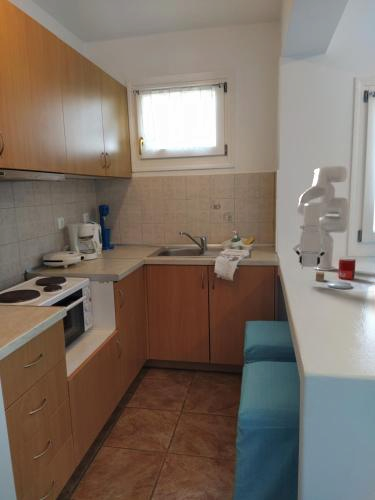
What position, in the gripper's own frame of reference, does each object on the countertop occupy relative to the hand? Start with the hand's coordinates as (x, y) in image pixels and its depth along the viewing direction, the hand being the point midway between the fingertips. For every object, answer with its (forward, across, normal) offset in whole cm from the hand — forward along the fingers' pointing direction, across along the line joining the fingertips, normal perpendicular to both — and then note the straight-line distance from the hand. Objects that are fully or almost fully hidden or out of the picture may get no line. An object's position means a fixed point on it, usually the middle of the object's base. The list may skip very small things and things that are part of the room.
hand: (309, 264), depth 180 cm
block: (+10, +5, +12) cm, 17 cm away
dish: (+10, +14, +2) cm, 18 cm away
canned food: (+10, +18, +21) cm, 30 cm away
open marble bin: (+2, 0, 0) cm, 2 cm away
